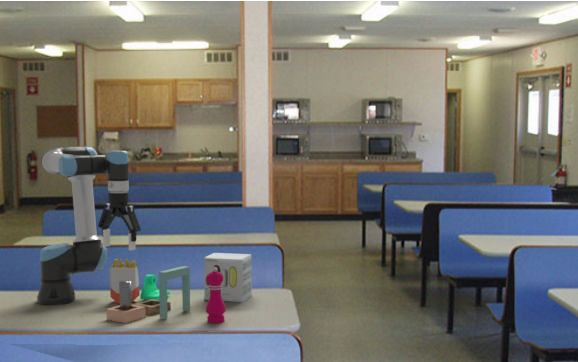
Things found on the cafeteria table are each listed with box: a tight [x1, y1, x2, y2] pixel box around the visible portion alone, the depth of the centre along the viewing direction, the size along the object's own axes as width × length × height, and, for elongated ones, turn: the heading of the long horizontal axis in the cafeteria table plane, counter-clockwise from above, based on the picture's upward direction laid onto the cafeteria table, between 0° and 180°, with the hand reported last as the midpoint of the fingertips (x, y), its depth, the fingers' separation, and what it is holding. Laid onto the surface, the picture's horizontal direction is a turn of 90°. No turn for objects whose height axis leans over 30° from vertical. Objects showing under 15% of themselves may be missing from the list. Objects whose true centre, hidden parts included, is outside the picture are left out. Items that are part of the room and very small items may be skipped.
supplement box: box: [203, 252, 253, 303], centre depth 283 cm, size 17×13×18 cm
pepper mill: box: [205, 267, 227, 324], centre depth 247 cm, size 7×7×20 cm
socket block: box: [133, 299, 172, 316], centre depth 263 cm, size 10×10×3 cm
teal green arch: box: [158, 265, 191, 320], centre depth 256 cm, size 3×14×17 cm, turn 146°
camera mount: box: [139, 274, 171, 301], centre depth 283 cm, size 12×8×10 cm, turn 162°
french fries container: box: [109, 258, 140, 304], centre depth 278 cm, size 5×11×18 cm, turn 82°
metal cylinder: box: [119, 280, 133, 311], centre depth 252 cm, size 4×4×14 cm
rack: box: [106, 303, 147, 324], centre depth 252 cm, size 10×10×4 cm
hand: (119, 248), depth 253 cm, fingers open, 13 cm apart
